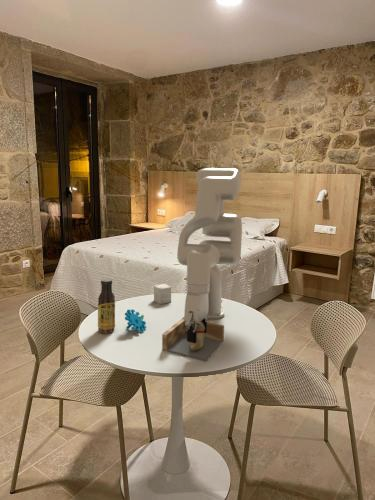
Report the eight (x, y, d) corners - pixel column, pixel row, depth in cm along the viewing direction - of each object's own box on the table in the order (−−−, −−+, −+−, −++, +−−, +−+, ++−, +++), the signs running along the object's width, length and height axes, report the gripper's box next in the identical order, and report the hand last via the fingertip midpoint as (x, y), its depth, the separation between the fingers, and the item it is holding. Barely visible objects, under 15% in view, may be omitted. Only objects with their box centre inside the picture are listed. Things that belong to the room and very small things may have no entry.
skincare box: (165, 298, 174) (165, 283, 172) (171, 302, 169) (171, 286, 167) (153, 300, 171) (153, 285, 169) (159, 304, 166) (159, 288, 164)
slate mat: (183, 332, 138) (183, 330, 138) (223, 341, 132) (223, 339, 131) (162, 350, 124) (162, 348, 124) (206, 361, 117) (206, 359, 117)
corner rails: (183, 332, 138) (183, 317, 137) (223, 341, 132) (224, 325, 130) (162, 350, 124) (162, 334, 123) (206, 361, 117) (206, 344, 116)
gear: (137, 333, 133) (122, 311, 135) (127, 342, 135) (112, 320, 137) (152, 326, 143) (138, 305, 145) (142, 334, 145) (128, 313, 147)
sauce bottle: (100, 335, 134) (98, 283, 130) (96, 329, 140) (94, 278, 135) (118, 332, 137) (116, 281, 133) (113, 325, 143) (111, 276, 138)
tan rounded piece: (210, 343, 125) (211, 316, 123) (194, 351, 120) (194, 322, 118) (199, 338, 129) (199, 311, 127) (182, 345, 124) (182, 317, 121)
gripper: (198, 278, 130) (197, 325, 134) (175, 293, 114) (175, 345, 118) (218, 281, 127) (216, 329, 130) (197, 297, 111) (196, 350, 115)
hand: (197, 336), depth 124 cm, fingers closed on tan rounded piece, 7 cm apart
